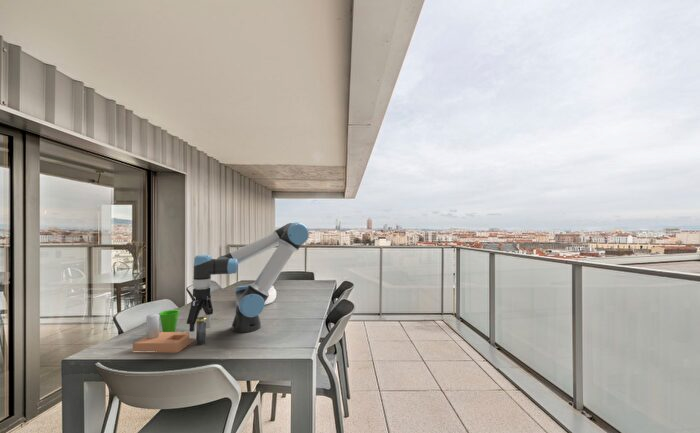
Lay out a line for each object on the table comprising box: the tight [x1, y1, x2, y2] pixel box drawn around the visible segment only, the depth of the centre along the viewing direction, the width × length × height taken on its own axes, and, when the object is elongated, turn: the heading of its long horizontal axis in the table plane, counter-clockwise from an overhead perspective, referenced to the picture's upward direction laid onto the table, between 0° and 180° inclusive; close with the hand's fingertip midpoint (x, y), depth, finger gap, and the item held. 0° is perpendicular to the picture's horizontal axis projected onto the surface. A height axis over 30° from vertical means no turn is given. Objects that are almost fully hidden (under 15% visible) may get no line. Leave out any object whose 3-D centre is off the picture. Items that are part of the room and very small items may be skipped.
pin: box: [195, 316, 207, 346], centre depth 141 cm, size 5×5×12 cm
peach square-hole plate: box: [132, 313, 196, 353], centre depth 138 cm, size 20×14×14 cm
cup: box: [159, 309, 180, 332], centre depth 154 cm, size 9×9×11 cm
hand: (200, 332), depth 141 cm, fingers open, 13 cm apart
